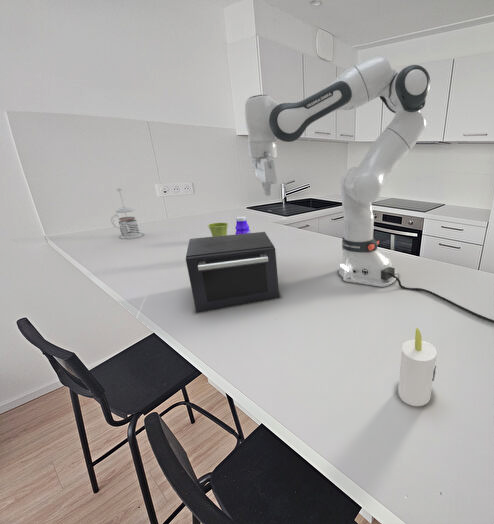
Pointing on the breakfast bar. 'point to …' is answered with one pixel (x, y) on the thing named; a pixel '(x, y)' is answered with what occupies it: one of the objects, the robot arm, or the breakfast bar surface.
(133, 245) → the breakfast bar surface
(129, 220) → the french press
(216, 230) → the plant pot
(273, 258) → the oven door
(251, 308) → the breakfast bar surface
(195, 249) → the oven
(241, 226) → the bottle
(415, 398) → the candle
